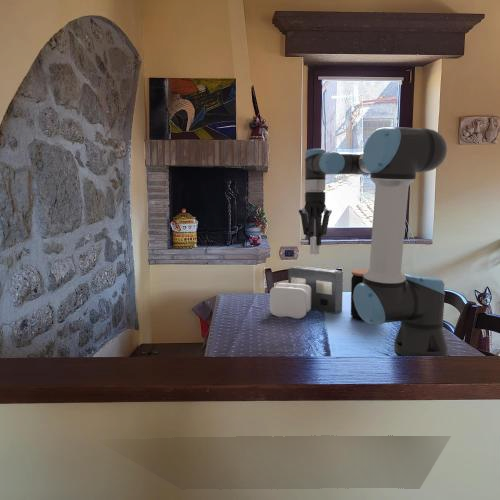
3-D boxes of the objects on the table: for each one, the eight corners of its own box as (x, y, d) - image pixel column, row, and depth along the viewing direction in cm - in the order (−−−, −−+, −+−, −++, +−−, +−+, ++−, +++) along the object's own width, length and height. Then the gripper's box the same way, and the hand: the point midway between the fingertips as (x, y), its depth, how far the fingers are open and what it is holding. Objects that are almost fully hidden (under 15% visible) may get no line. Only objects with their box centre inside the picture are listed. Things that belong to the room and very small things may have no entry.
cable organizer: (267, 316, 174) (267, 286, 173) (276, 309, 184) (276, 281, 182) (305, 319, 169) (305, 289, 167) (312, 312, 178) (312, 284, 177)
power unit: (334, 313, 176) (335, 273, 174) (287, 305, 189) (287, 267, 187) (342, 310, 181) (342, 270, 179) (295, 302, 194) (296, 265, 192)
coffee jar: (347, 320, 168) (348, 272, 165) (354, 313, 177) (355, 268, 175) (376, 323, 163) (377, 275, 160) (382, 316, 172) (383, 270, 170)
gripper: (336, 191, 165) (335, 254, 169) (304, 191, 174) (303, 251, 177) (327, 191, 160) (326, 256, 163) (293, 191, 168) (293, 253, 171)
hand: (314, 253), depth 170 cm, fingers closed
